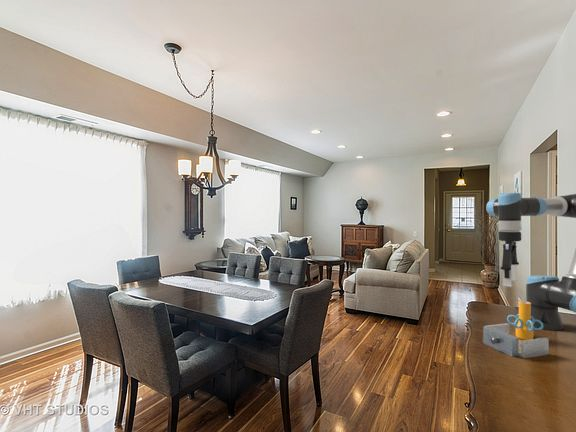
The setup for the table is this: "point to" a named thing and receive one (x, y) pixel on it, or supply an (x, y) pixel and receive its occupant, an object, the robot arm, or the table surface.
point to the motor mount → (513, 342)
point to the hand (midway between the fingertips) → (510, 283)
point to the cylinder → (524, 321)
